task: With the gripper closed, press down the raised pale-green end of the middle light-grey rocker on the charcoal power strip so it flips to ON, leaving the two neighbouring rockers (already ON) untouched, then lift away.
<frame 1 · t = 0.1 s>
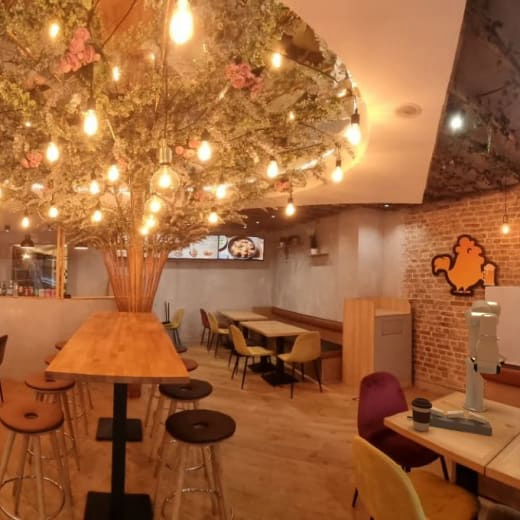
hand: (486, 372, 207), 31 cm above the table, fingers open, 9 cm apart
rocker middle: (455, 413, 218), point 6 cm above the table, hinge at 13.0°
rocker 2: (476, 417, 214), point 6 cm above the table, hinge at -13.0°
rocker 1: (435, 410, 221), point 6 cm above the table, hinge at -13.0°
coffee cup: (420, 429, 211), on the table
power strip: (455, 427, 216), on the table
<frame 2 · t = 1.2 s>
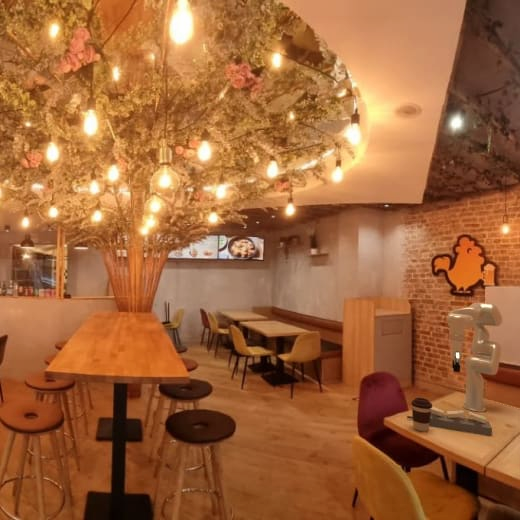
hand: (456, 370, 226), 28 cm above the table, fingers open, 7 cm apart
nothing on the table moved.
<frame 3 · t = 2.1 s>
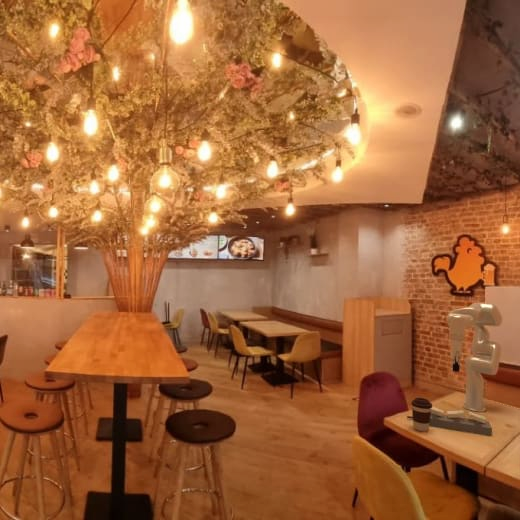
hand: (455, 371, 226), 27 cm above the table, fingers closed
nothing on the table moved.
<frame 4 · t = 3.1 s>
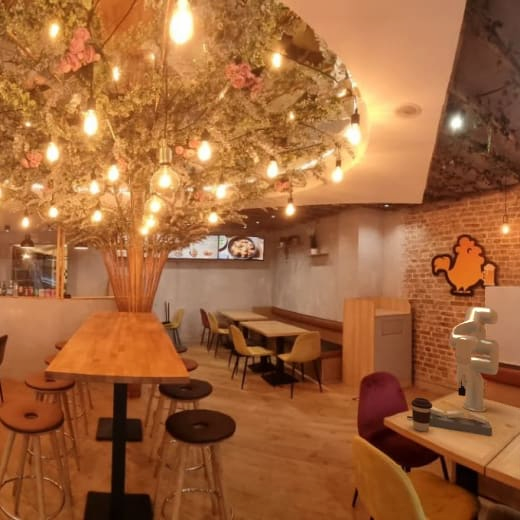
hand: (461, 395, 217), 17 cm above the table, fingers closed
nothing on the table moved.
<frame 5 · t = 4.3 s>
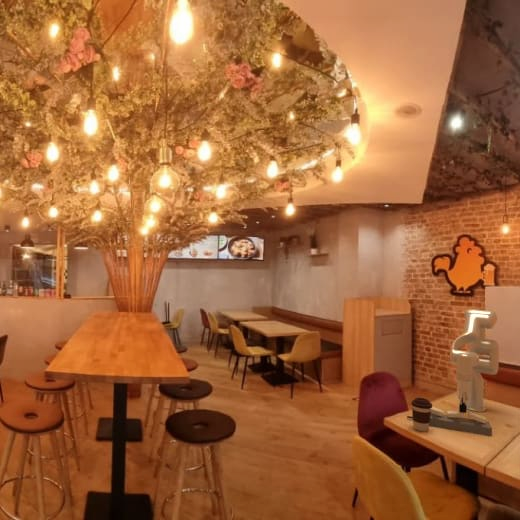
hand: (462, 412, 216), 8 cm above the table, fingers closed
rocker middle: (455, 413, 218), point 6 cm above the table, hinge at 9.0°, touching gripper
everything else where it was.
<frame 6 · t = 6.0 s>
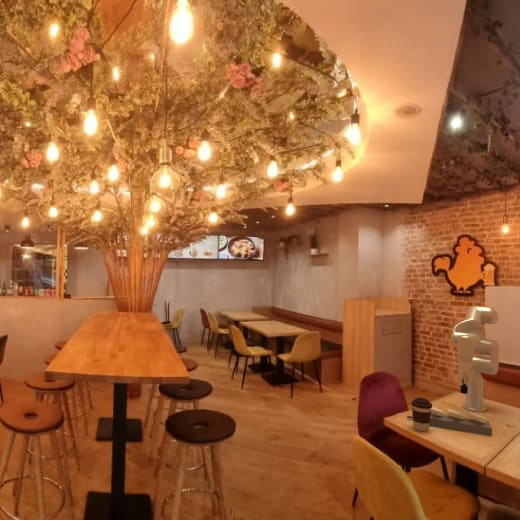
hand: (463, 393, 218), 18 cm above the table, fingers closed
rocker middle: (455, 413, 218), point 6 cm above the table, hinge at -6.9°
everything else where it was.
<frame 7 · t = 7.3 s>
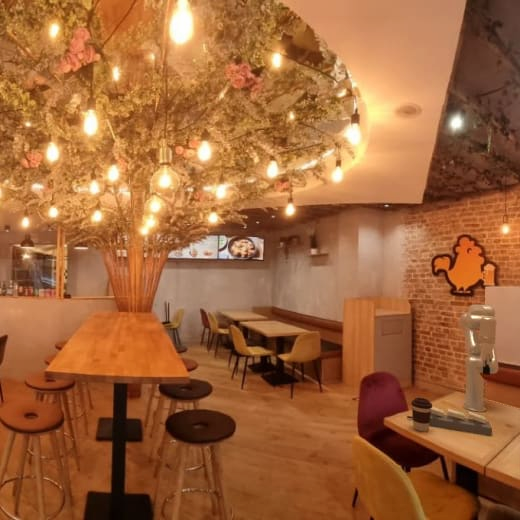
hand: (486, 374, 222), 27 cm above the table, fingers closed
rocker middle: (455, 413, 218), point 6 cm above the table, hinge at -8.1°
everything else where it was.
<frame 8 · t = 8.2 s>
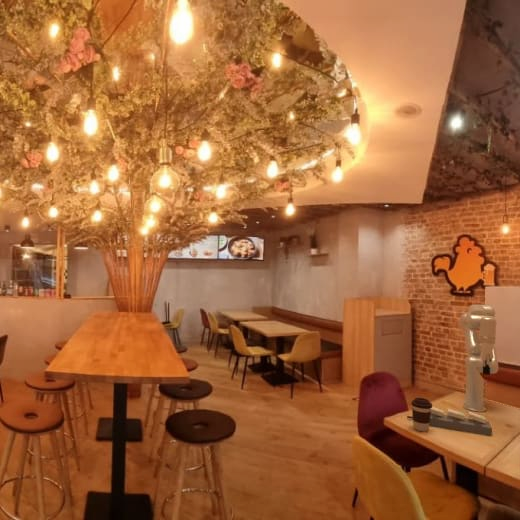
hand: (486, 374, 222), 27 cm above the table, fingers closed
nothing on the table moved.
at the end: rocker middle at -8° (first picture: +13°); rocker 1 at -13° (first picture: -13°); rocker 2 at -13° (first picture: -13°) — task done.
